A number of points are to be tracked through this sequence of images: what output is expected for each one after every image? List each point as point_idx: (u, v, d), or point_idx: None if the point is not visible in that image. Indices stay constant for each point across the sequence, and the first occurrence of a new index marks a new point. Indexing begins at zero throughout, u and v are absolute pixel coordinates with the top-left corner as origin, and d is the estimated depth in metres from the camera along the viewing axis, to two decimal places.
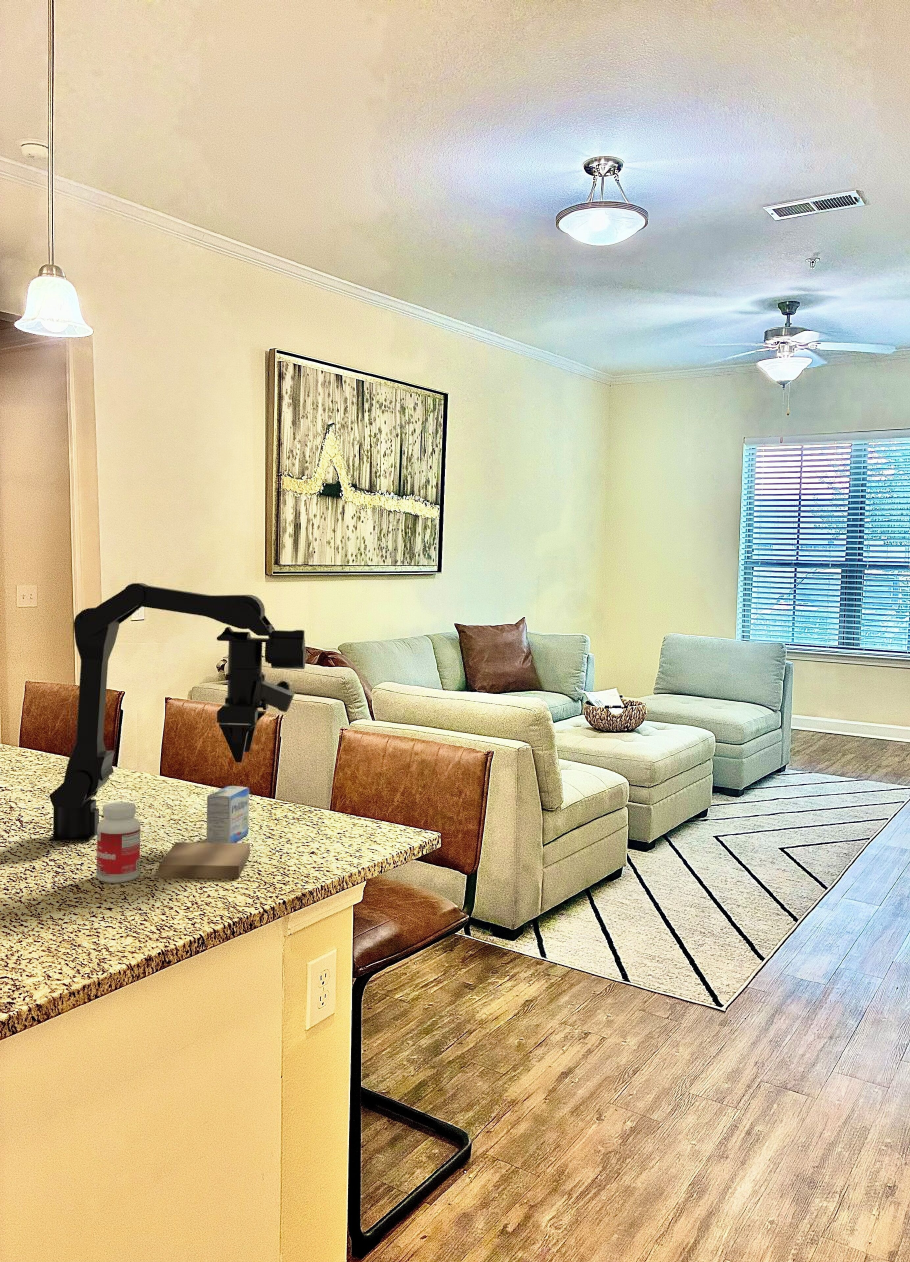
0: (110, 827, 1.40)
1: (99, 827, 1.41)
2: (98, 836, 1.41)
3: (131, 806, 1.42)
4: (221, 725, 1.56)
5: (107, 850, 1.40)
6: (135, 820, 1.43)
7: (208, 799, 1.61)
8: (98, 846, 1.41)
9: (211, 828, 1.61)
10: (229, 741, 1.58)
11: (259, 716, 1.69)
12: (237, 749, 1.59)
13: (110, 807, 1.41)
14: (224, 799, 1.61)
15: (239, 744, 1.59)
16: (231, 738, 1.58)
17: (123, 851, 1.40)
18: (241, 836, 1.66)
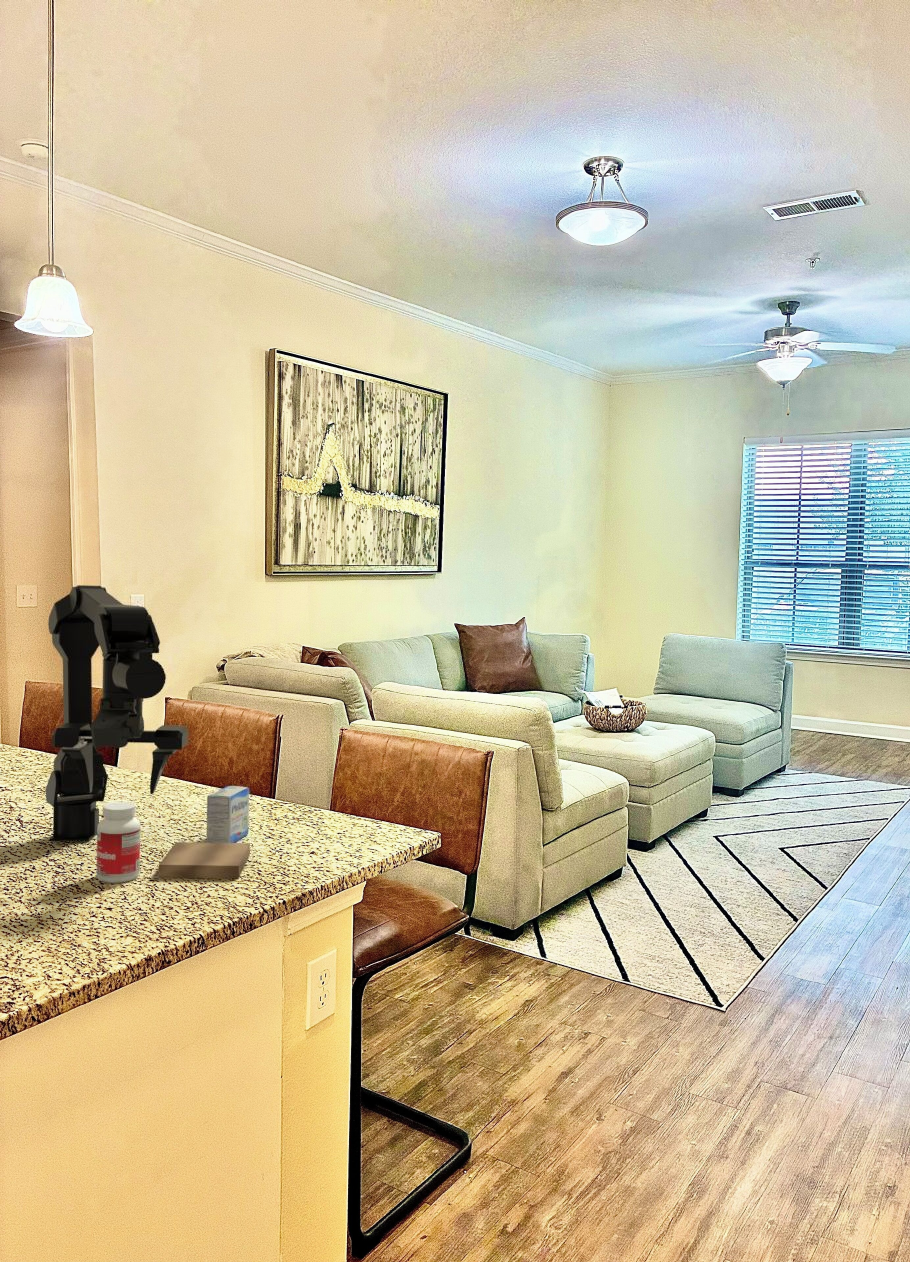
0: (110, 827, 1.40)
1: (99, 827, 1.41)
2: (98, 836, 1.41)
3: (131, 806, 1.42)
4: None
5: (107, 850, 1.40)
6: (135, 820, 1.43)
7: (208, 799, 1.61)
8: (98, 846, 1.41)
9: (211, 828, 1.61)
10: None
11: (153, 754, 1.41)
12: None
13: (110, 807, 1.41)
14: (224, 799, 1.61)
15: None
16: None
17: (123, 851, 1.40)
18: (241, 836, 1.66)
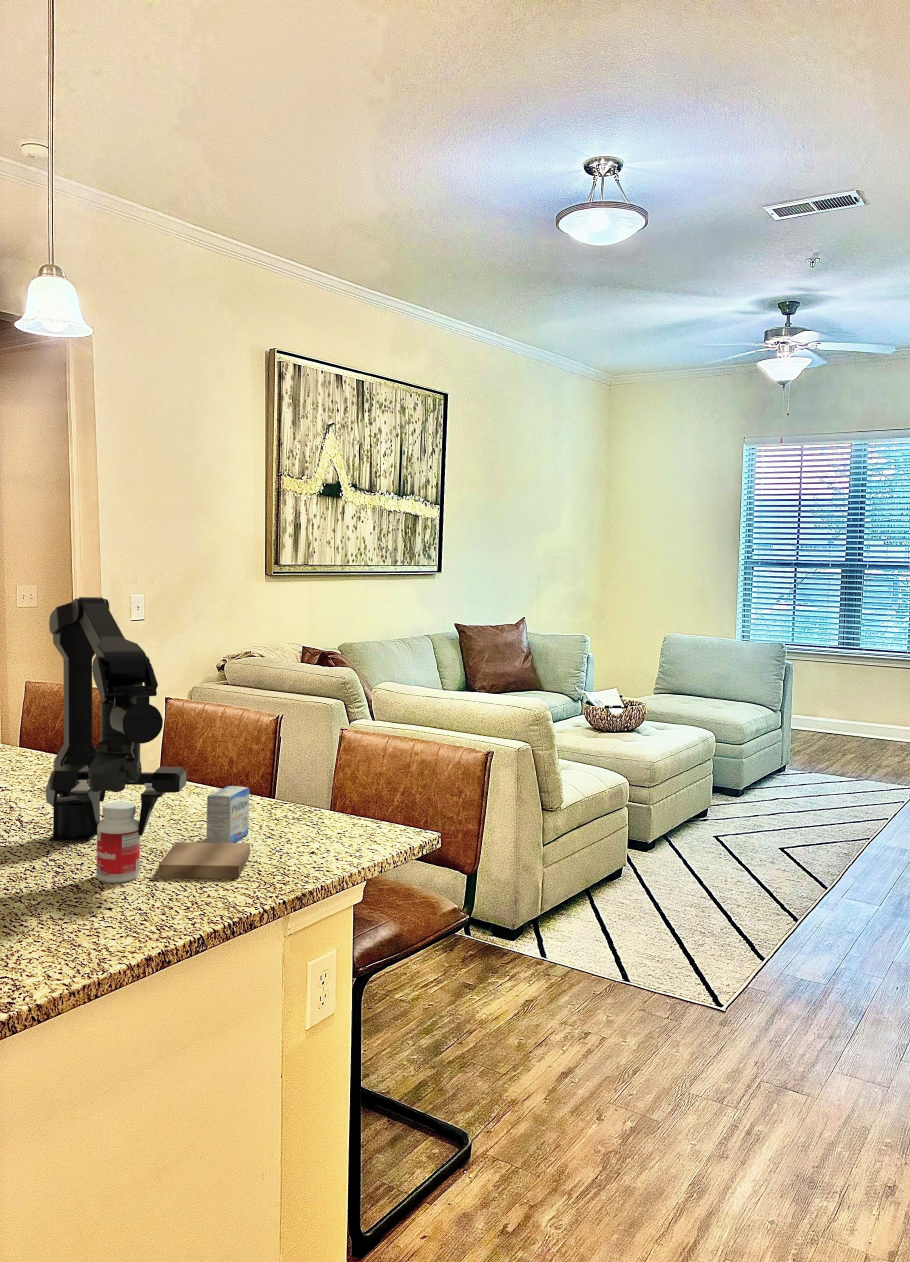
0: (110, 827, 1.40)
1: (99, 827, 1.41)
2: (98, 836, 1.41)
3: (131, 806, 1.42)
4: None
5: (107, 850, 1.40)
6: (135, 820, 1.43)
7: (208, 799, 1.61)
8: (98, 845, 1.41)
9: (211, 828, 1.61)
10: None
11: (141, 797, 1.41)
12: None
13: (110, 807, 1.41)
14: (224, 799, 1.61)
15: None
16: None
17: (123, 850, 1.40)
18: (241, 836, 1.66)
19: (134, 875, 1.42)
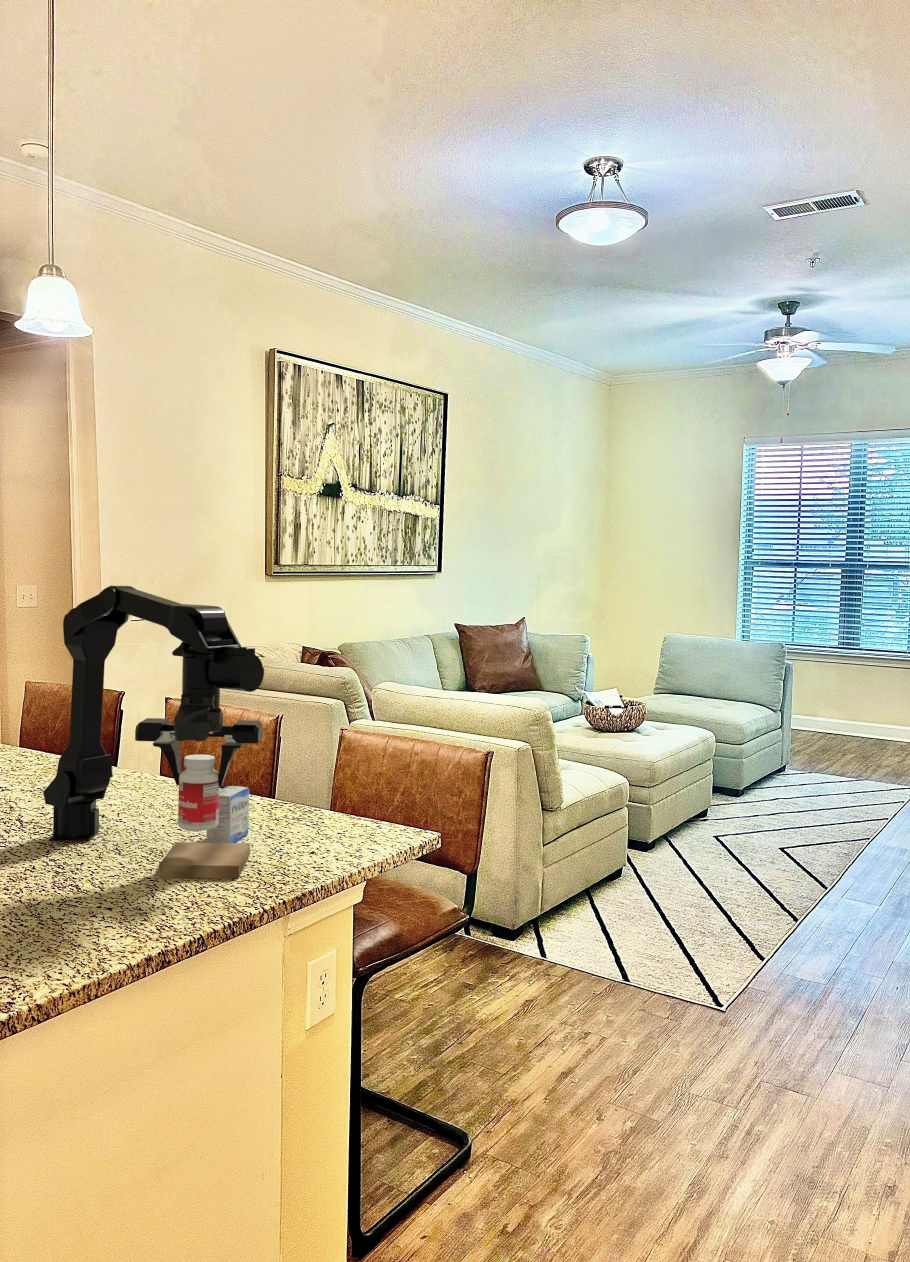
0: (192, 777, 1.46)
1: (181, 777, 1.46)
2: (180, 786, 1.47)
3: (211, 758, 1.48)
4: None
5: (189, 799, 1.46)
6: (215, 771, 1.48)
7: None
8: (180, 795, 1.46)
9: None
10: None
11: None
12: None
13: (191, 758, 1.47)
14: (224, 799, 1.61)
15: None
16: None
17: (204, 800, 1.46)
18: (241, 836, 1.66)
19: (214, 824, 1.48)
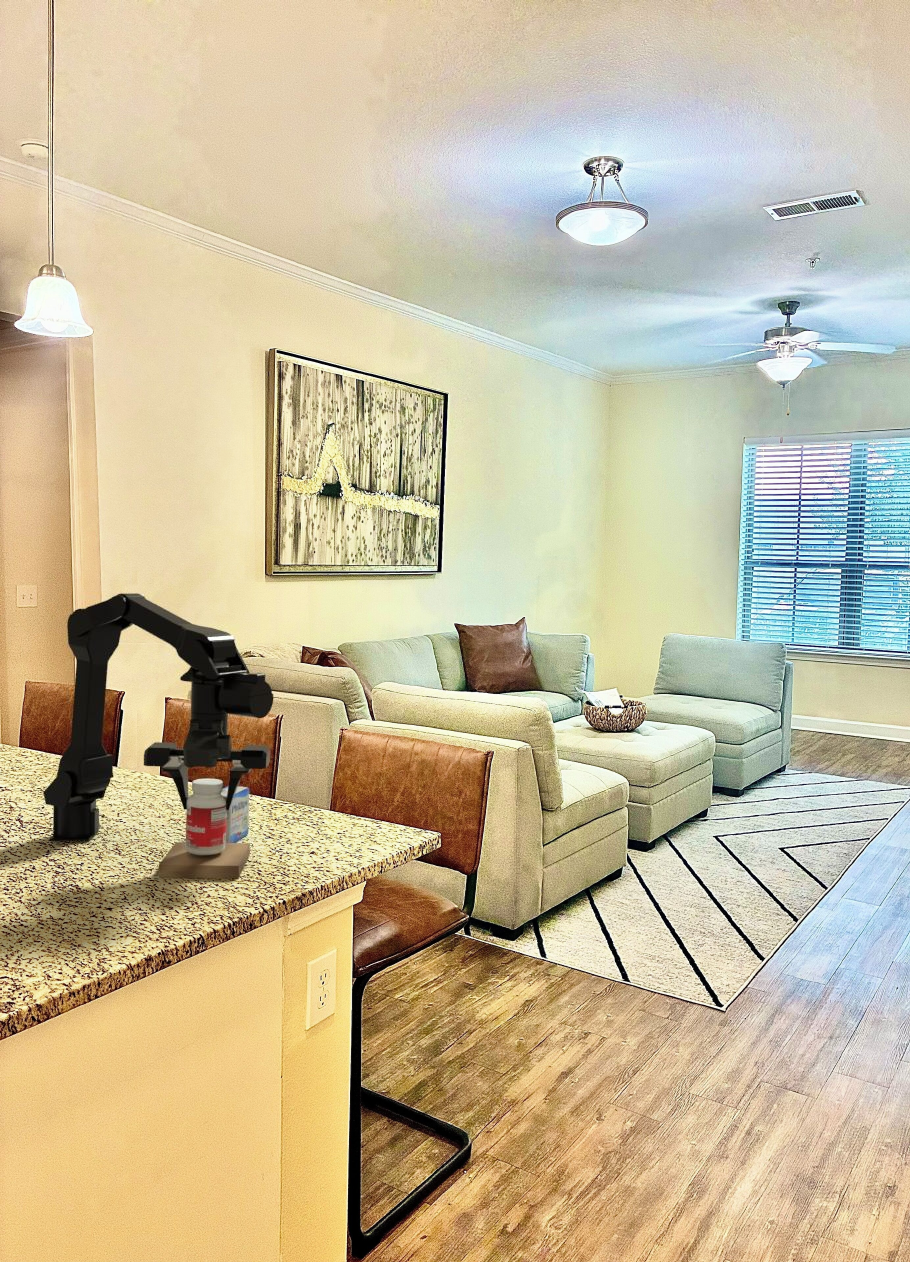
0: (200, 802, 1.47)
1: (189, 802, 1.48)
2: (188, 810, 1.48)
3: (219, 782, 1.49)
4: None
5: (197, 824, 1.47)
6: (222, 796, 1.50)
7: None
8: (188, 819, 1.48)
9: None
10: None
11: None
12: None
13: (199, 783, 1.48)
14: None
15: None
16: None
17: (212, 824, 1.47)
18: (241, 836, 1.66)
19: (221, 848, 1.49)
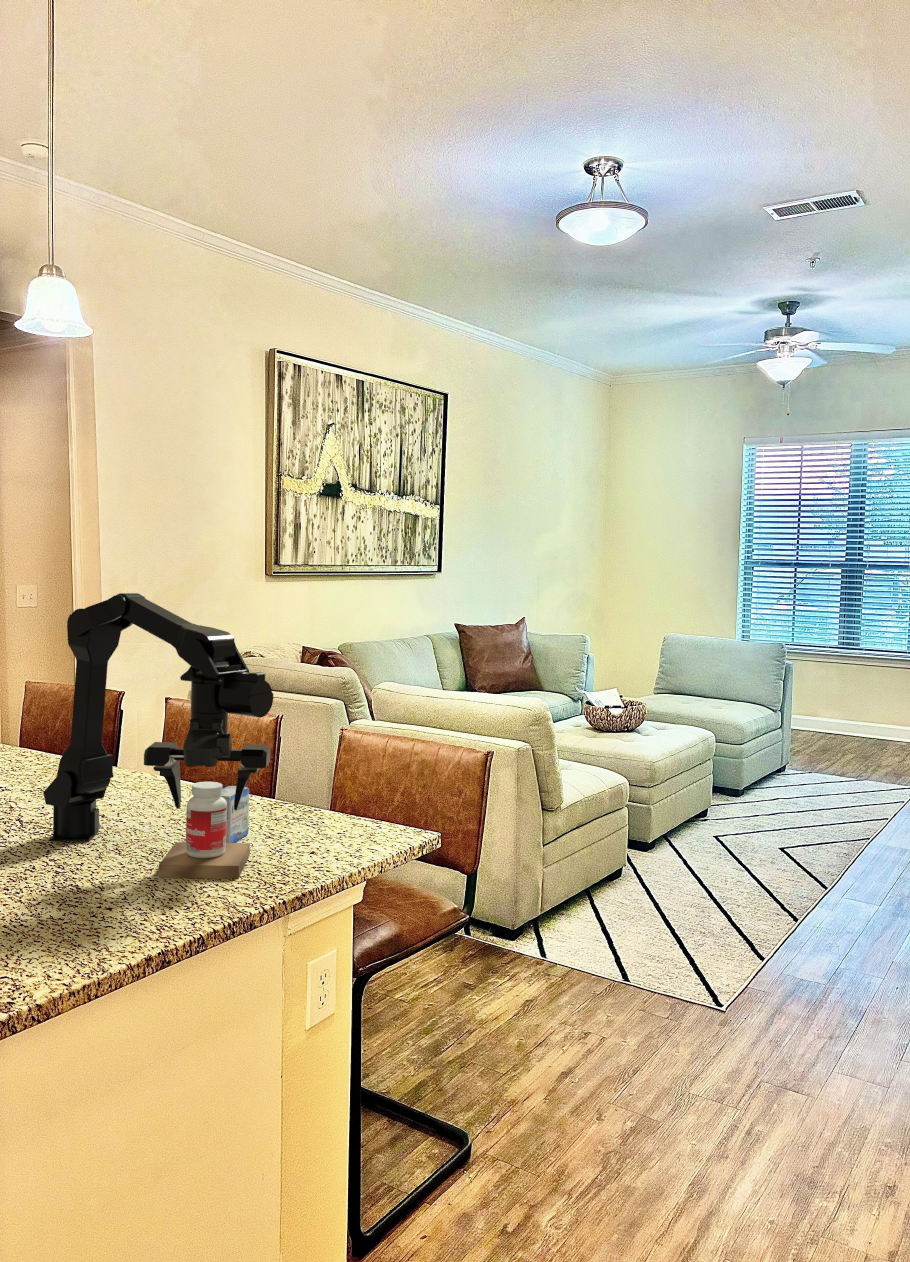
0: (200, 805, 1.47)
1: (189, 805, 1.48)
2: (188, 814, 1.48)
3: (218, 785, 1.49)
4: None
5: (197, 827, 1.47)
6: (222, 799, 1.50)
7: None
8: (188, 823, 1.48)
9: None
10: None
11: None
12: None
13: (199, 786, 1.48)
14: None
15: None
16: None
17: (212, 827, 1.47)
18: (241, 836, 1.66)
19: (222, 851, 1.49)
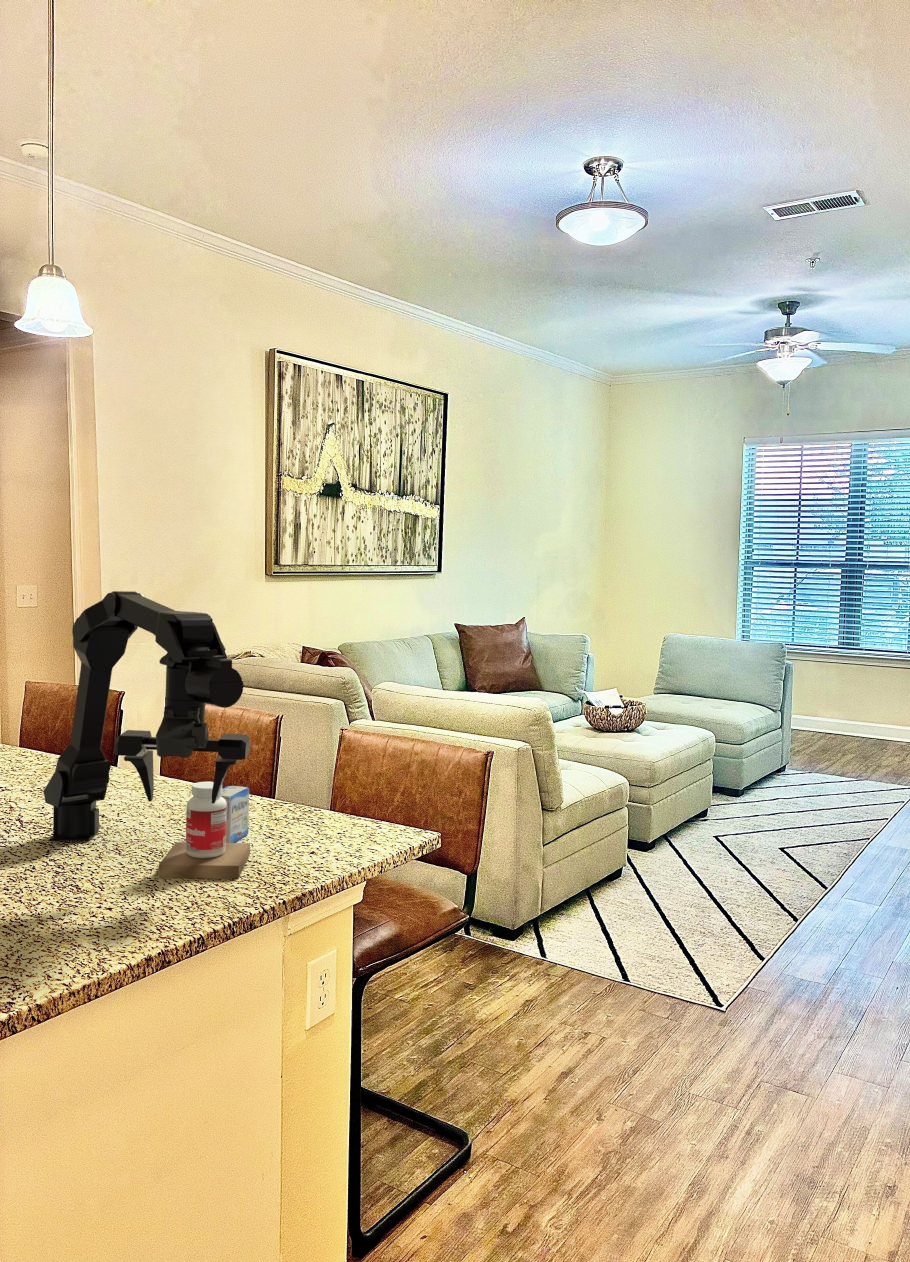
0: (200, 805, 1.47)
1: (189, 805, 1.48)
2: (188, 814, 1.48)
3: None
4: None
5: (197, 827, 1.47)
6: (222, 799, 1.50)
7: None
8: (188, 823, 1.48)
9: None
10: None
11: None
12: None
13: (199, 786, 1.48)
14: None
15: None
16: None
17: (212, 827, 1.47)
18: (241, 836, 1.66)
19: (222, 851, 1.49)
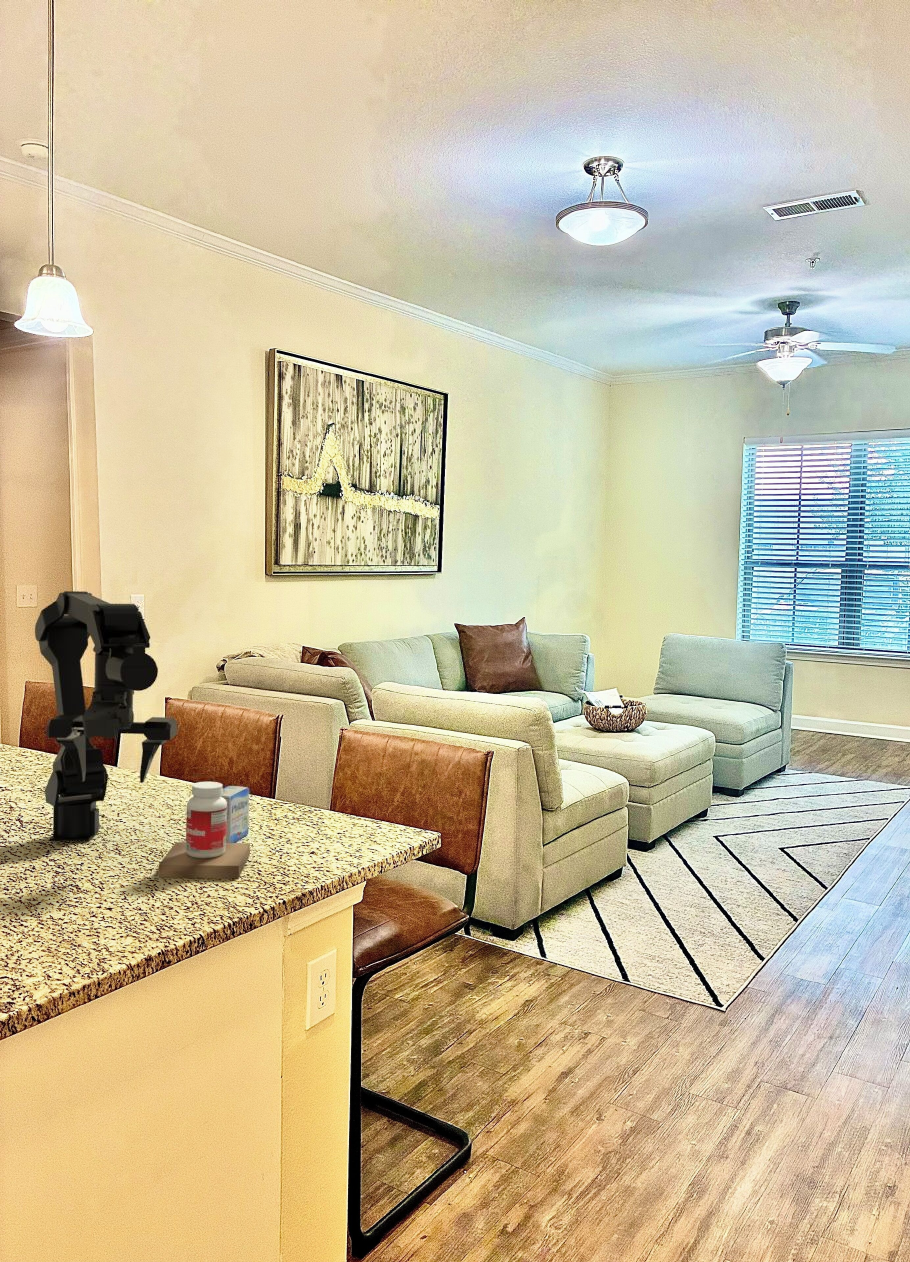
0: (200, 805, 1.47)
1: (189, 805, 1.48)
2: (188, 814, 1.48)
3: (219, 785, 1.49)
4: None
5: (197, 827, 1.47)
6: (222, 799, 1.50)
7: None
8: (188, 823, 1.48)
9: None
10: None
11: None
12: None
13: (199, 786, 1.48)
14: None
15: None
16: None
17: (212, 827, 1.47)
18: (241, 836, 1.66)
19: (222, 851, 1.49)
